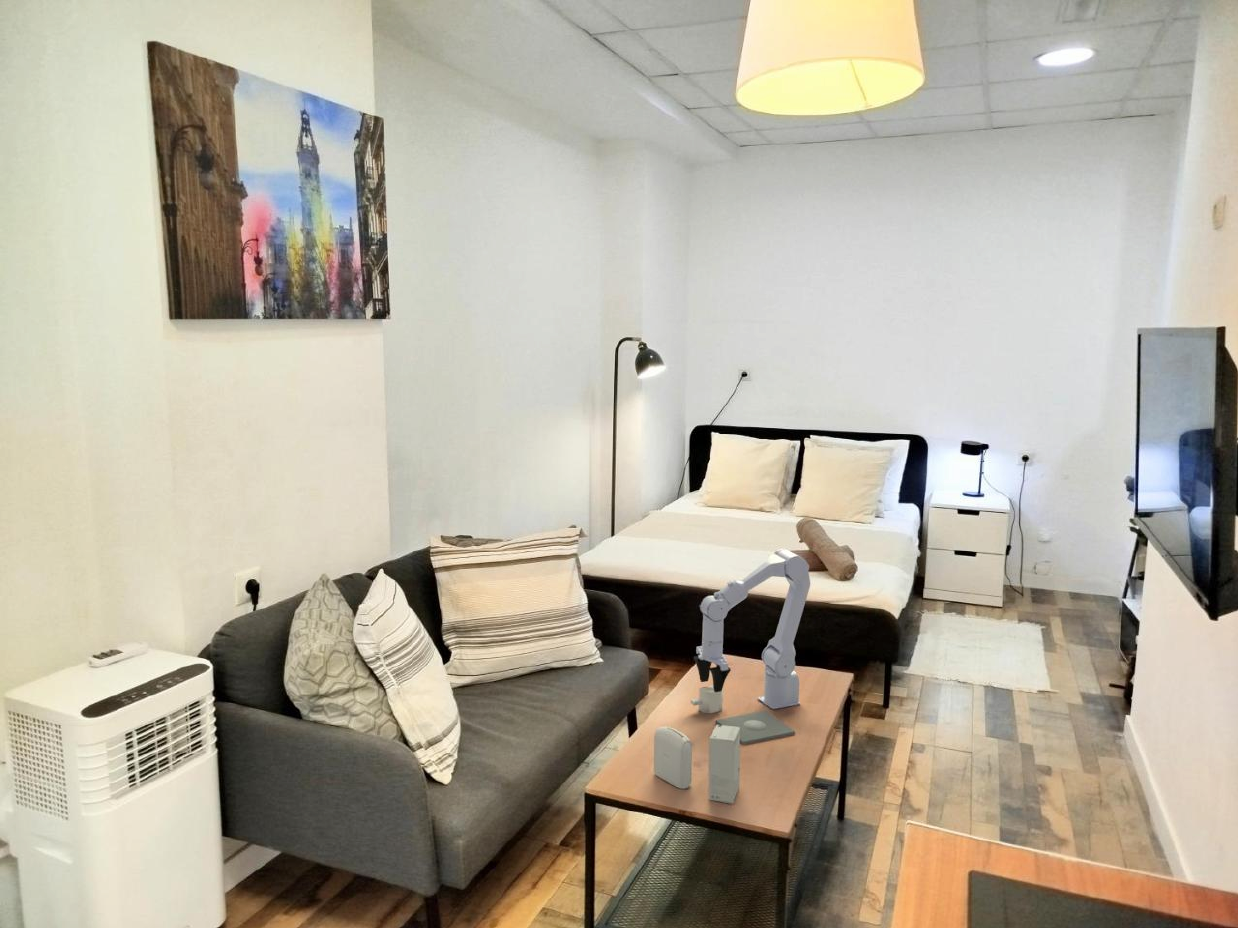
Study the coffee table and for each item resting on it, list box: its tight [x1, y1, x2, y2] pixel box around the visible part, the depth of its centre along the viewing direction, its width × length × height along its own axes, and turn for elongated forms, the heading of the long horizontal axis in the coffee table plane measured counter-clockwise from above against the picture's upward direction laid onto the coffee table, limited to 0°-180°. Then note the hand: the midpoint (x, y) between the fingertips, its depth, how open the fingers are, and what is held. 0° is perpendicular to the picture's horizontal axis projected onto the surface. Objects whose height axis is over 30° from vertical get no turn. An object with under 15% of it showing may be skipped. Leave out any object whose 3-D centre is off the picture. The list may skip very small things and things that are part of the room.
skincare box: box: [708, 724, 741, 805], centre depth 196 cm, size 8×6×15 cm
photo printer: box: [653, 725, 693, 790], centre depth 202 cm, size 10×4×12 cm, turn 39°
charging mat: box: [715, 709, 796, 745], centre depth 231 cm, size 16×14×1 cm
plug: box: [690, 685, 724, 714], centre depth 241 cm, size 9×4×6 cm, turn 114°
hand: (711, 686), depth 241 cm, fingers open, 7 cm apart
